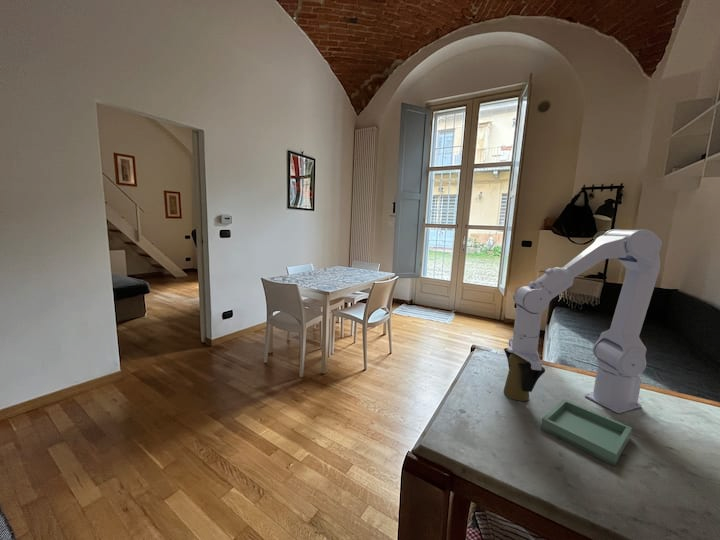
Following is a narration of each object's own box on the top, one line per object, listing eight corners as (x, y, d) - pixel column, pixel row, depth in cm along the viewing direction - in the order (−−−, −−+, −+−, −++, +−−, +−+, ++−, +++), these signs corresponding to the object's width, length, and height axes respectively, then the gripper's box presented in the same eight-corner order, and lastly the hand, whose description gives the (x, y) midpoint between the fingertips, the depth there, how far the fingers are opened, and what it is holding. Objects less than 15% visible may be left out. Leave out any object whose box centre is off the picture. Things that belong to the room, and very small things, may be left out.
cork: (532, 402, 74) (537, 361, 73) (506, 398, 76) (510, 358, 74) (525, 390, 80) (529, 351, 79) (501, 387, 81) (505, 349, 80)
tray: (562, 408, 72) (563, 399, 72) (630, 438, 62) (632, 427, 62) (540, 428, 65) (542, 418, 64) (614, 466, 55) (616, 454, 54)
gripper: (499, 323, 83) (494, 368, 85) (522, 343, 68) (515, 397, 70) (525, 324, 82) (520, 370, 84) (554, 345, 68) (546, 399, 70)
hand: (520, 382), depth 77 cm, fingers open, 7 cm apart
